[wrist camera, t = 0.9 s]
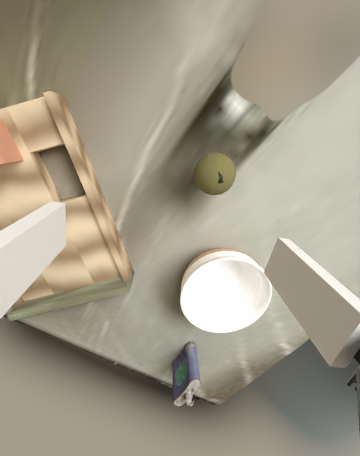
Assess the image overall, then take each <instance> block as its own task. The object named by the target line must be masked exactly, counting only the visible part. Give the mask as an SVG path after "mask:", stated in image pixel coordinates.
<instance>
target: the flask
mask: <svg viewBox="0 0 360 456" xmlns="http://www.w3.org/2000/svg"><path fill="white" fill-rule="evenodd" d="M194 344H195V343H192V342H189V343H188V344H186V345H185V347H184V349H183V350H181V351H180V354H179V356H177V358H176V359H175V360H174V361H173V362H172V365H173V404H174V405H176V406H181V405H183V403H185V402H186V404H187V405H189V404H190V403H191V398H192V396H193V394H194V393H195V392H196V390H197V388H198V387H199V385H200V375H199V368H198V361H197V353H196V346H195V345H194ZM193 402H194V401H193ZM191 405H193V403H191V404H190V405H189V406H191Z"/></svg>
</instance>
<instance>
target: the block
mask: <svg viewBox="0 0 360 456" xmlns="http://www.w3.org/2000/svg"><path fill="white" fill-rule="evenodd" d="M23 160H24V159H23V157H22V156H21V154H20V152H19V150H18V148H17V146H16V144H15V142H14V140H13V138H12V136H11V134H10V132H9V130H8V128H7V126H6V124H5V122H4V120H1V119H0V167H1V166H5V165H8V164H12V163H16V162H19V161H23Z"/></svg>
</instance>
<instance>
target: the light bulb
mask: <svg viewBox="0 0 360 456" xmlns="http://www.w3.org/2000/svg"><path fill="white" fill-rule="evenodd" d="M235 176H236V170H235V166H234V164H233V162H232V161H231V159H230V158H228V157H227V156H226V155H224V154H221V153H211V154H208V155H206V156H204V157H203V158H201V160H200V161H199V162H198V163H197V165H196V168H195V172H194V177H195V182H196V184H197V186H198V187H199V188H200V190H202V191H203V192H205V193H207V194H210V195H219V194H222V193H224V192H226V191H227V190H228V189H229V188H230V187H231V186H232V184H233V183H234V180H235Z"/></svg>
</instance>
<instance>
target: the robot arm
mask: <svg viewBox="0 0 360 456" xmlns="http://www.w3.org/2000/svg"><path fill="white" fill-rule="evenodd" d="M65 246H66V209H65V203H60V202H54V201H51V202H49V203H47V204H45V205H44V206H42V207H40V208H39V209H37V210H35V211H33V212H32V213H30V214H28V215H27V216H25V217H23V218H22V219H20V220H18V221H16V222H15V223H13V224H11V225H10V226H8V227H6V228H4V229H3V230H1V231H0V319H1V318H2V317H3V315H4V314H5V313H6V312H7V311H8V310H9V309H10V308H11V307H12V305H13V304H14V303H15V302H16V301H17V300H18V299H19V298H20V296H21V295H22V294H23V293H24V292H25V291H26V290H27V289H28V288H29V286H30V285H31V284H32V283H33V282H34V281H35V280H36V279H37V277H38V276H39V275H40V274H41V273H42V272H43V271H44V270H45V269H46V267H47V266H48V265H49V264H50V263H51V262H52V261H53V260H54V258H55V257H56V256H57V255H58V254H59V253H60V252H61V251H62V250H63V248H64V247H65ZM264 274H265V275H266V277H267V278H268V279H269V281H270V282H271V284H272V285H273V286H274V288H275V289H276V291H277V292H278V294H279V295H280V296H281V298H282V299H283V301H284V302H285V304H286V305H287V306H288V308H289V309H290V311H291V312H292V313H293V315H294V316H295V318H296V319H297V321H298V322H299V323H300V325H301V326H302V328H303V329H304V330H305V332H306V333H307V335H308V336H309V338H310V339H311V340H312V342H313V343H314V344H315V346H316V348H317V349H318V350H319V352H320V353H321V355H322V356H323V357H324V359H325V360H326V362H327V363H328V365H329V366H330V367H342V368H346V367H347V366H348V365H349V363H350V362H351V361H352V359H353V358H355V359H356V360H357V362H358V363H359V364H360V299H358V298H357V297H356V296H355V295H354V294H353V293H351V292H350V291H349V290H348V289H347V288H346V287H344V286H343V285H342V284H341V283H340V282H338V281H337V280H336V279H335V278H334V277H333V276H331V275H330V274H329V273H328V272H327V271H326V270H324V269H323V268H322V267H321V266H320V265H319V264H317V263H316V262H315V261H314V260H313V259H312V258H310V257H309V256H308V255H307V254H306V253H305V252H303V251H302V250H301V249H300V248H299V247H298V246H296V245H295V244H294V243H293V242H292V241H291V240H289V239H285V238H278V239H277V242H276V244H275V247H274V249H273V252H272V254H271V256H270V259H269V261H268V264H267V266H266V269H265V271H264ZM352 383H356V384H357V386H356V388H355V390H356V391H357V399H358V415H359V430H360V366H359V367H358V368H357V370H356V371H355V373H354V374H353V375H352V376H351V378H350V379H349V380H348V382H347V385H348V386H351V384H352Z"/></svg>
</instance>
